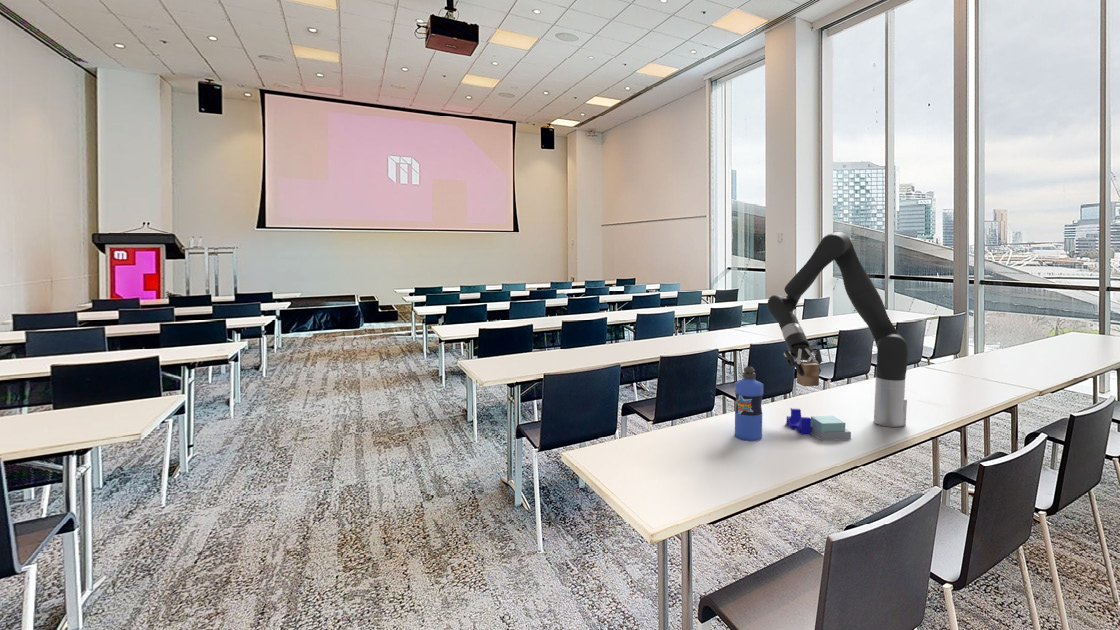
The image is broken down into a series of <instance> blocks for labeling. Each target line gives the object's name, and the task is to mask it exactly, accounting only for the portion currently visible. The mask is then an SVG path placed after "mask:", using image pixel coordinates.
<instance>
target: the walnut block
mask: <svg viewBox="0 0 1120 630" xmlns="http://www.w3.org/2000/svg"><path fill="white" fill-rule="evenodd" d="M800 365H801V366H802V368H803V371H804V375H803V376H800V374H798V372H797V371H796V383H797V384H799V385H800V386H803V387H817V386H818V387H819V386H820V374H819V367H820V365H819V364H817V363H814V362H807V361H800Z"/></svg>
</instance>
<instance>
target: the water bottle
mask: <svg viewBox="0 0 1120 630" xmlns="http://www.w3.org/2000/svg"><path fill="white" fill-rule="evenodd" d="M755 371H756V370H755V369H754V367H753V366H749V365H748V366H745V367H744V369H743V372H742V379H740V380H737V381H735V382H734V393H735V402H736V404H735V409H734V438H735V439H738V440H741V441H743V442H744V441H746V442H758V441H760V440H762V439H763V409H762V403H763V402H762V401H763V395H764V383H762V382H760V381H758V380H756V378H757V377H756V376H757V373H756V372H755Z"/></svg>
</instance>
